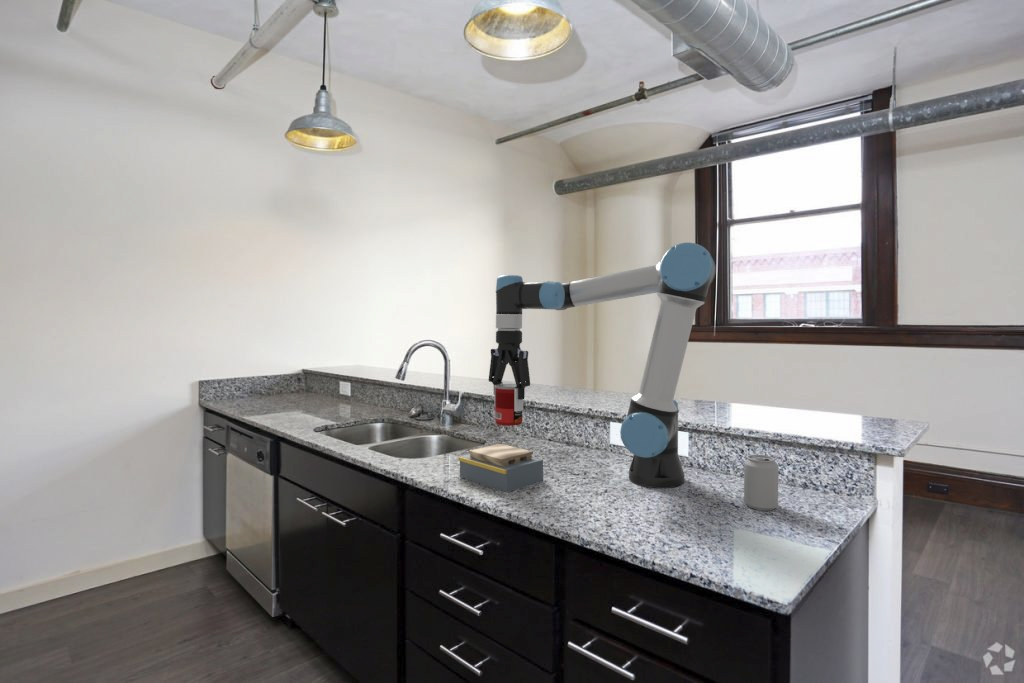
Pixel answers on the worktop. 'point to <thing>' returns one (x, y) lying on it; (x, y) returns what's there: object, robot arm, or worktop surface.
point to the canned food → (506, 406)
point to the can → (761, 482)
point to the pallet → (500, 454)
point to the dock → (502, 473)
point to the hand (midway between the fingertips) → (508, 408)
